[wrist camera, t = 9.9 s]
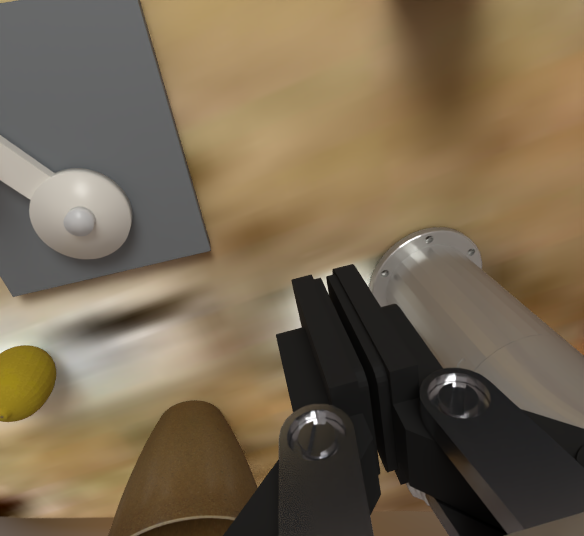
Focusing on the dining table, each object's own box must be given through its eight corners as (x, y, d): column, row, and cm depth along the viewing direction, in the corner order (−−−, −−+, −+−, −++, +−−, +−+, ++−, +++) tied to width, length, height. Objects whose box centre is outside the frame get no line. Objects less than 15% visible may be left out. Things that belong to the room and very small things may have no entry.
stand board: (209, 243, 39) (211, 255, 37) (19, 287, 37) (9, 302, 35) (134, -17, 28) (130, -20, 26) (-137, 28, 26) (-164, 29, 24)
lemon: (40, 319, 39) (9, 382, 32) (77, 359, 42) (55, 424, 35) (-14, 343, 39) (-57, 410, 32) (26, 381, 42) (-5, 449, 35)
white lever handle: (150, 208, 34) (143, 241, 29) (98, 266, 36) (83, 306, 31) (-39, 67, 27) (-92, 78, 22) (-94, 147, 29) (-156, 174, 23)
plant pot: (274, 389, 50) (305, 526, 36) (222, 469, 55) (233, 615, 42) (148, 360, 44) (130, 511, 30) (104, 453, 49) (72, 616, 36)
